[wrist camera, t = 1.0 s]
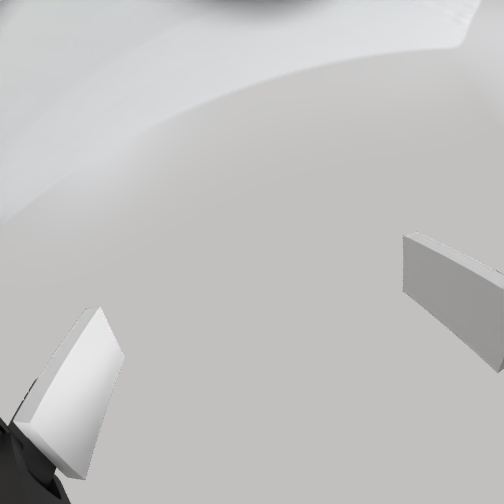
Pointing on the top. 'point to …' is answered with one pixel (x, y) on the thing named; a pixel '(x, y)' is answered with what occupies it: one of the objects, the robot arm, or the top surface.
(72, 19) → the top surface
